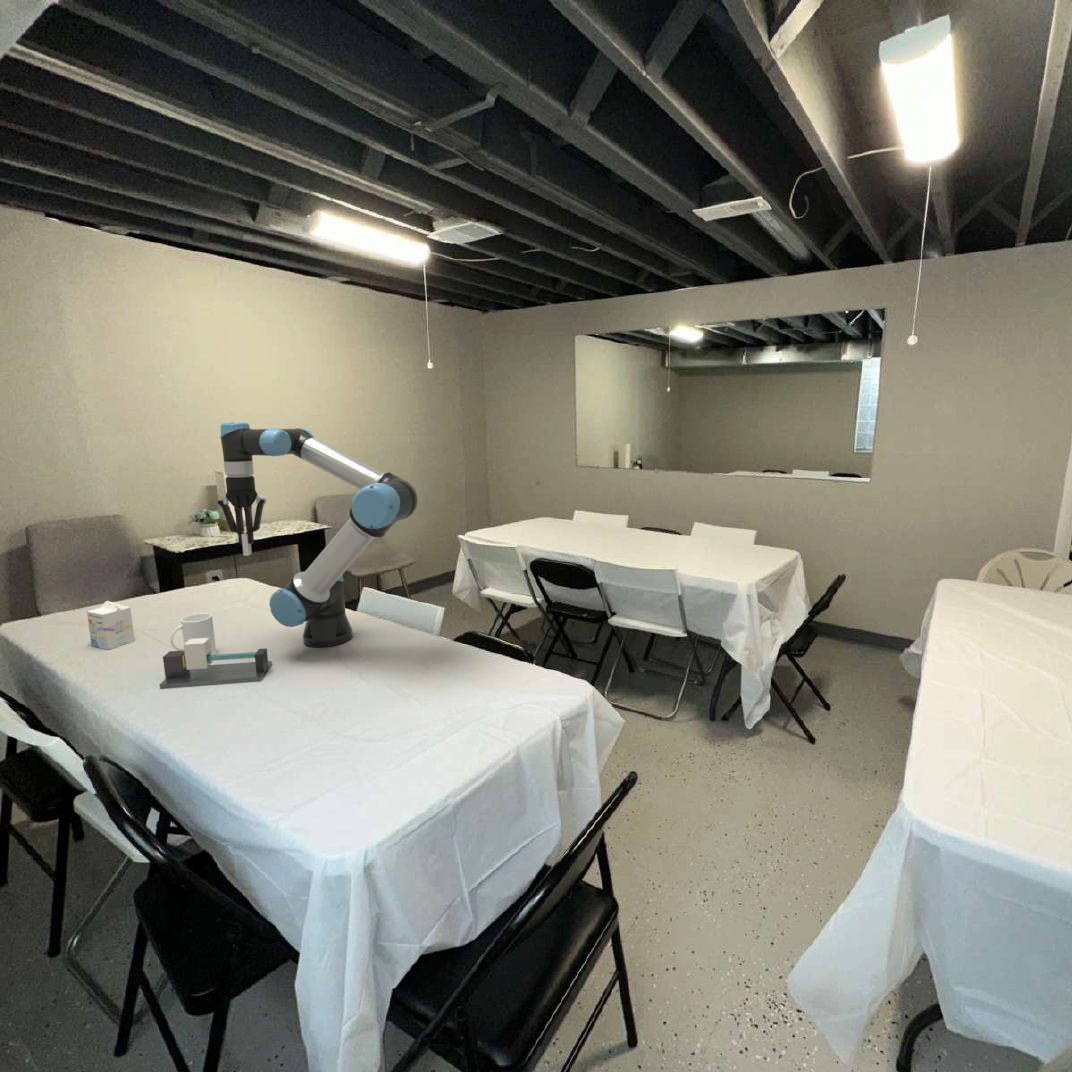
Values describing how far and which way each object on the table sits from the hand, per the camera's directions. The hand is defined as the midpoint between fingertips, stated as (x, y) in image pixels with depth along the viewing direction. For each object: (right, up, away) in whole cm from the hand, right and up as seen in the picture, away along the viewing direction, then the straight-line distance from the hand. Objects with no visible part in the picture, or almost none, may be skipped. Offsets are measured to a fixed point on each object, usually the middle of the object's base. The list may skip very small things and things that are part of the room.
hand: (247, 554), depth 170 cm
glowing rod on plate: (-2, -33, -12) cm, 36 cm away
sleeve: (-6, -30, -14) cm, 34 cm away
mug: (-16, -31, +1) cm, 35 cm away
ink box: (-49, -29, +11) cm, 58 cm away
